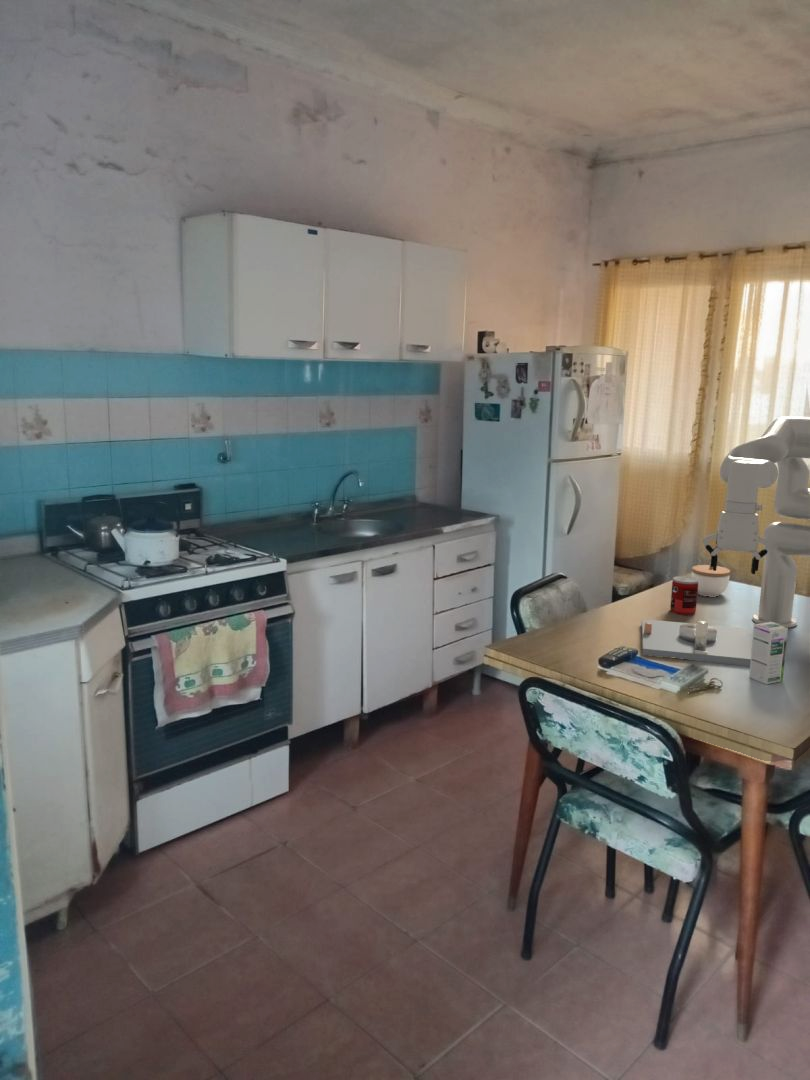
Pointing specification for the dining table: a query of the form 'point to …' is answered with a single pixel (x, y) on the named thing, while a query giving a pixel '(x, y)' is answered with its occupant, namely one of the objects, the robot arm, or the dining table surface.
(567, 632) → the dining table surface
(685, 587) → the canned food
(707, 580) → the lidded bowl
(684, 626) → the grey piece
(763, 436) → the robot arm
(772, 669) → the syrup box
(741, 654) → the board
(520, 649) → the dining table surface
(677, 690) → the dining table surface
